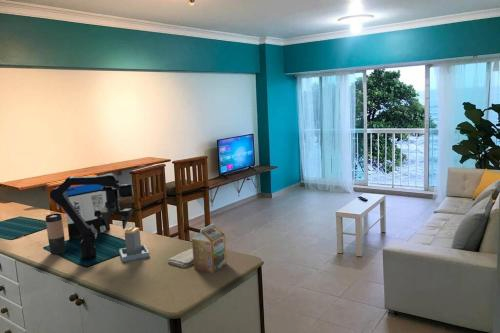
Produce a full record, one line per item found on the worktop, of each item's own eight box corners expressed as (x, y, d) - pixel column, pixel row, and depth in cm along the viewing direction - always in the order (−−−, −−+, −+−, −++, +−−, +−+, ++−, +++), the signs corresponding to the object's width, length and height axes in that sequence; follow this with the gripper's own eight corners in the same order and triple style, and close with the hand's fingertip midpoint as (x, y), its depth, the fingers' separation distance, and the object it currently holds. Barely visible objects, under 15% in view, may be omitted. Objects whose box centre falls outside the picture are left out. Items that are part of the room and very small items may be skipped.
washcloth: (166, 264, 194) (165, 258, 193) (192, 252, 208) (191, 246, 208) (184, 269, 187) (184, 263, 187) (210, 256, 202) (209, 250, 201)
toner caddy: (126, 256, 203) (124, 230, 201) (132, 252, 209) (129, 226, 207) (136, 256, 202) (133, 230, 200) (141, 252, 208) (139, 226, 206)
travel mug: (69, 250, 218) (64, 213, 214) (57, 255, 211) (52, 218, 208) (59, 248, 221) (54, 212, 217) (47, 254, 214) (41, 217, 211)
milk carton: (212, 272, 181) (210, 231, 178) (194, 268, 186) (191, 228, 183) (226, 264, 190) (224, 224, 187) (208, 260, 195) (205, 221, 192)
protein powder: (113, 230, 248) (108, 182, 243) (72, 241, 232) (65, 189, 227) (107, 227, 255) (101, 180, 250) (66, 237, 239) (59, 187, 234)
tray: (123, 262, 198) (122, 257, 197) (119, 253, 209) (119, 249, 209) (149, 257, 203) (149, 252, 202) (145, 249, 214) (144, 244, 214)
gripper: (86, 203, 199) (89, 234, 202) (121, 203, 196) (125, 234, 198) (98, 197, 210) (102, 226, 213) (132, 197, 206) (135, 227, 209)
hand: (115, 229), depth 208 cm, fingers open, 9 cm apart
